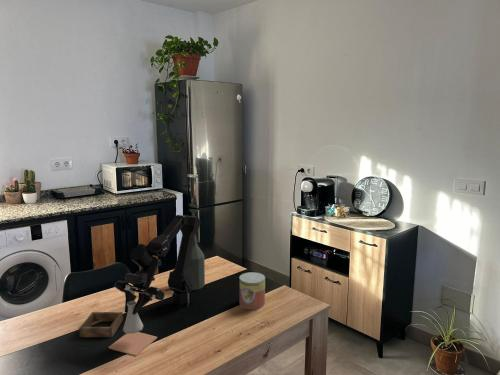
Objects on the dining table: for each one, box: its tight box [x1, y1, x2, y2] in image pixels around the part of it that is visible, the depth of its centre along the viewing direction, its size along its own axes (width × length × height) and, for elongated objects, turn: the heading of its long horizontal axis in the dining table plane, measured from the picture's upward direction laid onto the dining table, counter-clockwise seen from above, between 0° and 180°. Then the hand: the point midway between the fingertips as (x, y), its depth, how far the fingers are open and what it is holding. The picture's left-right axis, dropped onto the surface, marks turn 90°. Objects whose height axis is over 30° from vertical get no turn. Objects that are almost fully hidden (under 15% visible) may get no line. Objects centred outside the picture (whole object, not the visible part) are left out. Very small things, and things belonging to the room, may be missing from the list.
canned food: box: [238, 271, 266, 310], centre depth 166 cm, size 11×11×12 cm
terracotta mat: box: [107, 331, 158, 357], centre depth 137 cm, size 12×12×1 cm
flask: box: [122, 300, 144, 334], centre depth 135 cm, size 7×7×10 cm
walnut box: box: [78, 311, 124, 338], centre depth 146 cm, size 12×12×4 cm
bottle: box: [187, 233, 206, 291], centre depth 181 cm, size 10×10×30 cm
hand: (129, 313), depth 133 cm, fingers closed on flask, 3 cm apart
